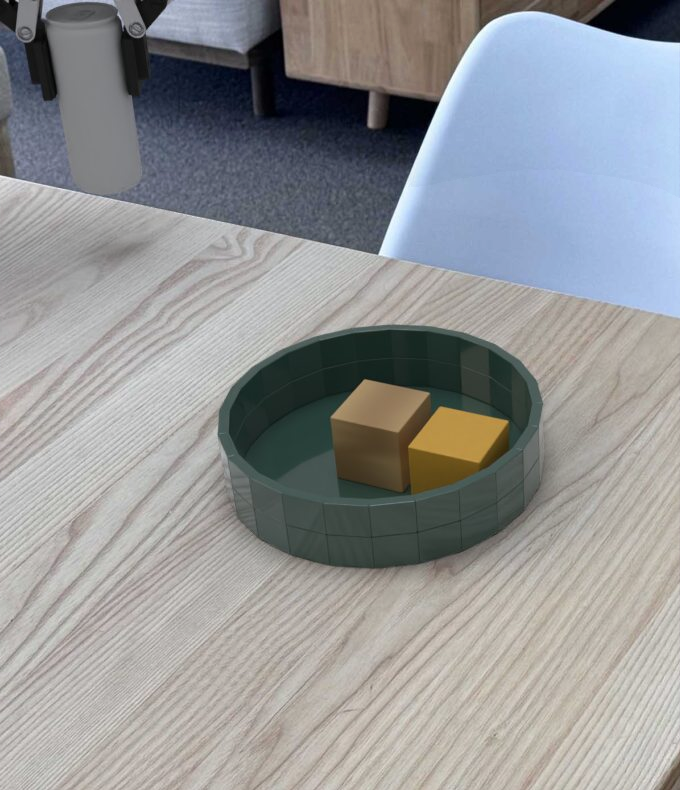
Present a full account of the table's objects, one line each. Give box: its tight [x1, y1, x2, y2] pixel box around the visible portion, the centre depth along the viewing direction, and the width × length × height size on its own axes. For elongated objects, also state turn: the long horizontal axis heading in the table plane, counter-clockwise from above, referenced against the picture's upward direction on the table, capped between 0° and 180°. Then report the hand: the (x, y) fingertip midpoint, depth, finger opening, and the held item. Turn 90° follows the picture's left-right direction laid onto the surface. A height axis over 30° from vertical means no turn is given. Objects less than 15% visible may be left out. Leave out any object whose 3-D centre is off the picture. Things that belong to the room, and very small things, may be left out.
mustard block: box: [408, 407, 510, 495], centre depth 73 cm, size 4×4×4 cm
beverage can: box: [44, 1, 144, 196], centre depth 94 cm, size 5×5×12 cm
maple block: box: [331, 379, 432, 493], centre depth 76 cm, size 4×4×4 cm
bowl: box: [216, 323, 545, 569], centre depth 76 cm, size 17×17×4 cm
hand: (94, 89), depth 94 cm, fingers closed on beverage can, 4 cm apart
